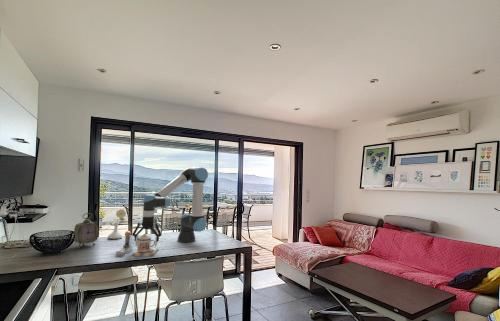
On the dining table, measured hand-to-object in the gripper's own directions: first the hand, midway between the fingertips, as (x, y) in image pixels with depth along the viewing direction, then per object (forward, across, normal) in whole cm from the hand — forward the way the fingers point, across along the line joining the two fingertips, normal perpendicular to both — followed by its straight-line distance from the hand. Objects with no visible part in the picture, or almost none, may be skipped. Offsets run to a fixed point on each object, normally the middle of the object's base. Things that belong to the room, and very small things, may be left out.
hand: (146, 246), depth 188 cm
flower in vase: (+5, +37, -41) cm, 55 cm away
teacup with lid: (+3, 0, 0) cm, 3 cm away
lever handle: (+2, +15, -5) cm, 16 cm away
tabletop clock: (+5, +49, -14) cm, 51 cm away
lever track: (+5, +15, 0) cm, 16 cm away
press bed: (+5, 0, 0) cm, 5 cm away
